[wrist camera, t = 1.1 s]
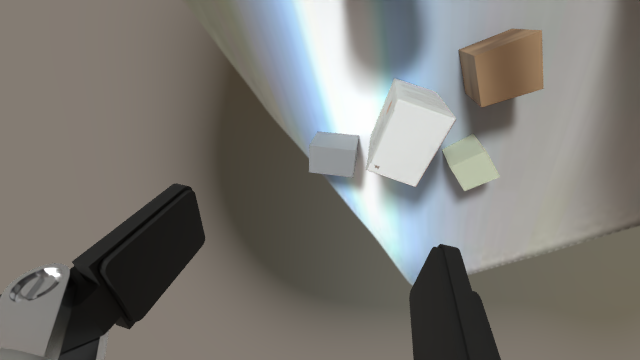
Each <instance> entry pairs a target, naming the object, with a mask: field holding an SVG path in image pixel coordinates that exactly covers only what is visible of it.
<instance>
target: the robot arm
mask: <svg viewBox="0 0 640 360" xmlns="http://www.w3.org/2000/svg"><path fill="white" fill-rule="evenodd" d="M204 241H205V235H204V230H203V226H202V221H201V217H200V213H199V209H198V204H197V200H196V196H195V192H194V191H192V188H191V187H189V186H185V185H180V184H173V185H171V186H170V187H169V188H167V189H166V190H165V191H163V192H162V193H161V194H160V195H158V196H157V197H156V198H154V199H153V200H152V201H151V202H149V203H148V204H147V205H145V206H144V207H143V208H141V209H140V210H139V211H137V212H136V213H135V214H134V215H132V216H131V217H130V218H128V219H127V220H126V221H124V222H123V223H122V224H121V225H119V226H118V227H117V228H115V229H114V230H113V231H111V232H110V233H109V234H108V235H106V236H105V237H104V238H102V239H101V240H100V241H98V242H97V243H96V244H94V245H93V246H92V247H91V248H89V249H88V250H87V251H85V252H84V253H83V254H81V255H80V256H79V257H78V258H76V259H75V260H74V261H73V262H72V263H73V264H74V267H73V268H71V269H69V268H68V266H66V265H64V264H56V263H54V264H48V265H43V266H40V267H37V268H35V269H32V270H31V271H28V272H26V273H24V274H23V275H21V276H20V277H18V278H17V279H15V280H14V281H13V282H12V283H11V284H10V285H9V286H7V288H6V289H5V291H4V292H3V293H2V294H1V295H0V360H104V359H105V352H106V346H107V338H108V332H109V329H110V328H111V327H112V326H113V325H114V324H116V325H118V326H122V327H124V328H127V329H130V328H131V327H132V326H133V325H134V324H135V322H137V321H140V320H141V319H142V318H143V317H144V316H145V315H146V314H147V313H148V311H149V310H150V309H151V308H152V306H153V305H154V304H155V303H156V301H157V300H158V299H159V298H160V297H161V295H162V294H163V293H164V292H165V291H166V289H167V288H168V287H169V286H170V285H171V283H172V282H173V281H174V280H175V278H176V277H177V276H178V275H179V274H180V272H181V271H182V270H183V269H184V268H185V266H186V265H187V264H188V263H189V261H190V260H191V259H192V258H193V256H194V255H195V254H196V253H197V252H198V250H199V249H200V248H201V247H202V245H203V244H204ZM410 314H411V328H412V341H413V356H414V360H501V359H500V356H499V353H498V349H497V346H496V343H495V340H494V337H493V334H492V331H491V328H490V325H489V322H488V319H487V316H486V313H485V310H484V306H483V303H482V300H481V298H480V296H479V295H478V294H477V292H474V291H472V289H471V286H470V283H469V279H468V276H467V273H466V269H465V266H464V263H463V259H462V256H461V253H460V250H459V249H458V248H456V247H451V246H447V245H443V244H440V245H439V246H438V247H433V248H432V249H431V251H430V253H429V255H428V257H427V259H426V261H425V263H424V265H423V267H422V269H421V271H420V273H419V275H418V277H417V279H416V281H415V283H414V285H413V287H412V289H411V292H410Z"/></svg>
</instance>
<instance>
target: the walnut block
mask: <svg viewBox="0 0 640 360" xmlns="http://www.w3.org/2000/svg"><path fill="white" fill-rule="evenodd" d="M459 55H460V61H461V68H462V74H463V80H464V86H465V92H466V94H467V95H468V96H469V97H470V98H471V99H473V100H474V101H475V102H476V103H477V104H478V105H479V106H480V107H485V106H488V105H491V104H495V103H498V102H501V101H504V100H508V99H511V98H514V97H517V96H521V95H524V94H527V93H531V92H534V91H537V90H540V89H543V57H542V30H525V29H510V30H508V31H505V32H503V33H500V34H498V35H495V36H492V37H490V38H487V39H485V40H482V41H480V42H477V43H475V44H472V45H470V46H467V47H465V48H462V49H459Z"/></svg>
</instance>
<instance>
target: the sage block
mask: <svg viewBox="0 0 640 360" xmlns="http://www.w3.org/2000/svg"><path fill="white" fill-rule="evenodd" d="M442 151H443V153H444V155H445V157H446V160H447V162H448V164H449V166H450V168H451V170H452V172H453V173H454V175H455V176H456V178H457V180H458V181H459V183H460V185H461V186H462V188H463V190H464V191H466V190H469V189H471V188H474V187H476V186H479V185H481V184H484V183H486V182H489V181H491V180H493V179H496V178H498V177H500V176H499V174H498V172H497V170H496V168H495V166H494V164H493V163H492V161H491V159H490V157H489V155H488V153H487V151H486V150H485V149H484V147H483V146H482V145H481V143H480V142H479V141H478V140H477V138H476V137H475V136H474V134H472V135H470V136H468V137H466V138H464V139H462V140H460V141H458V142H456V143H454V144H452V145H450V146H448V147H446V148H444V149H442Z"/></svg>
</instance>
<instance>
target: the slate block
mask: <svg viewBox="0 0 640 360" xmlns="http://www.w3.org/2000/svg"><path fill="white" fill-rule="evenodd" d="M358 140H359V136H357V135H347V134H338V133H328V132H317V133H316V135H315V137H314V138H313V140H312V141H311V143H310V145H309V172H313V173H321V174H329V175H336V176H344V177H352V178H353V174H354V169H355V164H356V158H357V149H358Z"/></svg>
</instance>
